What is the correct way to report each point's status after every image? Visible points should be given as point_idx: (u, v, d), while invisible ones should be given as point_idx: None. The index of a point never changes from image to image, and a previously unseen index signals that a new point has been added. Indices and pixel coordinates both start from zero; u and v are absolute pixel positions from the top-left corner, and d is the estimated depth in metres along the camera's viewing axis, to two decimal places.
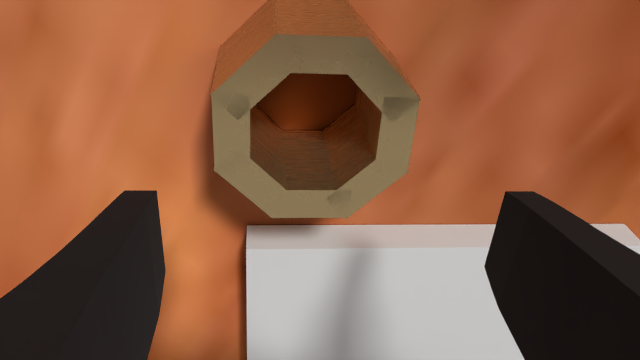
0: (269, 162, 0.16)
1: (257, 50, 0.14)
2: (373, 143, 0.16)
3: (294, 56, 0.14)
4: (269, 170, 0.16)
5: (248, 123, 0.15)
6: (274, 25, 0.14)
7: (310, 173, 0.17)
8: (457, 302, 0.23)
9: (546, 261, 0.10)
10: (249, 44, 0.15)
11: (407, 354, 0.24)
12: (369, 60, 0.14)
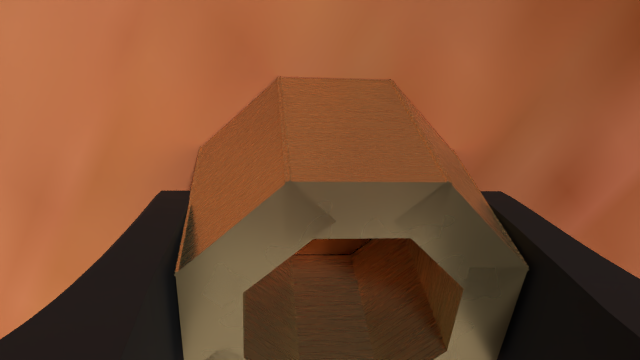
0: (274, 344, 0.10)
1: (255, 206, 0.08)
2: (441, 319, 0.10)
3: (320, 215, 0.08)
4: None
5: (240, 312, 0.09)
6: (284, 155, 0.08)
7: (337, 351, 0.11)
8: None
9: None
10: (242, 177, 0.09)
11: None
12: (450, 216, 0.08)
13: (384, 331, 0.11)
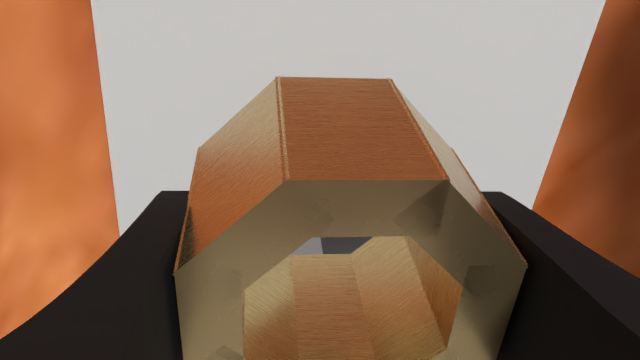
0: (274, 343, 0.10)
1: (253, 205, 0.08)
2: (440, 317, 0.10)
3: (318, 213, 0.08)
4: None
5: (239, 311, 0.09)
6: (282, 154, 0.08)
7: (337, 349, 0.11)
8: (376, 38, 0.17)
9: None
10: (240, 176, 0.09)
11: None
12: (448, 213, 0.08)
13: (384, 329, 0.11)
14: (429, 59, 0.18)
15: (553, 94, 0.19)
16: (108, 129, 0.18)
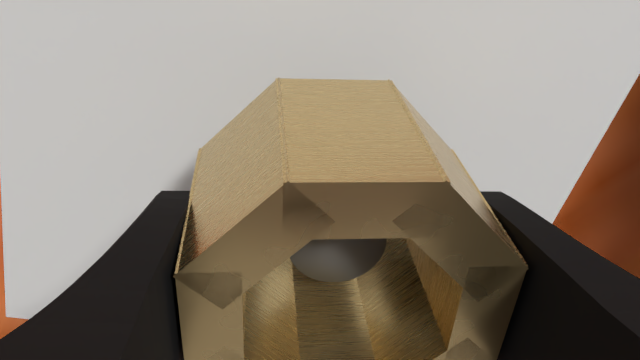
0: (275, 345, 0.10)
1: (253, 207, 0.08)
2: (441, 318, 0.10)
3: (319, 215, 0.08)
4: None
5: (240, 313, 0.09)
6: (283, 156, 0.08)
7: (338, 351, 0.11)
8: None
9: None
10: (240, 178, 0.09)
11: (301, 63, 0.13)
12: (448, 215, 0.08)
13: (384, 331, 0.11)
14: None
15: (611, 78, 0.14)
16: None
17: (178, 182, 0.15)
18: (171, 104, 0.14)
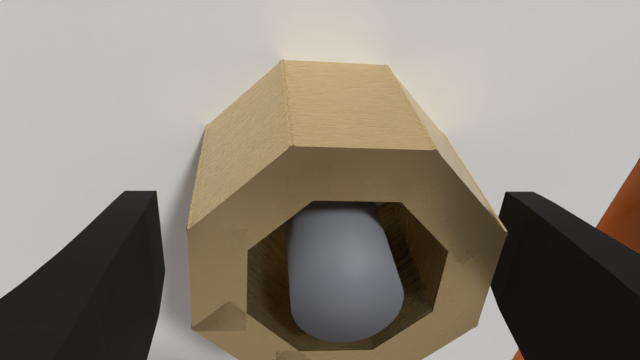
0: (274, 305, 0.11)
1: (261, 168, 0.09)
2: (428, 283, 0.11)
3: (320, 178, 0.09)
4: (274, 323, 0.11)
5: (244, 269, 0.09)
6: (288, 124, 0.09)
7: None
8: None
9: (546, 261, 0.10)
10: (248, 146, 0.10)
11: None
12: (437, 181, 0.09)
13: None
14: (490, 17, 0.12)
15: None
16: None
17: (169, 217, 0.14)
18: (160, 133, 0.12)
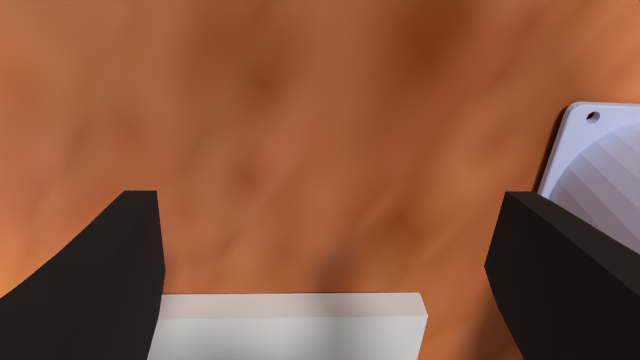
0: None
1: None
2: None
3: None
4: None
5: None
6: None
7: None
8: None
9: (546, 261, 0.10)
10: None
11: None
12: None
13: None
14: None
15: None
16: None
17: None
18: None
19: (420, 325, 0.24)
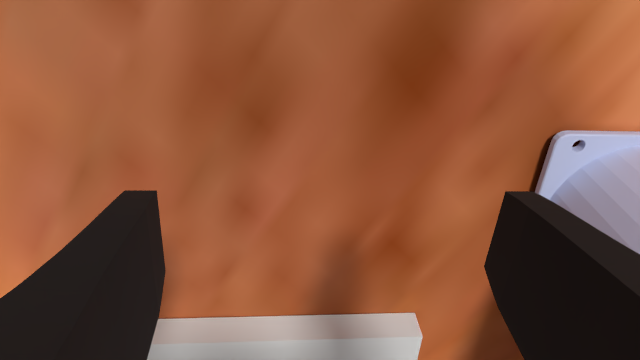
0: None
1: None
2: None
3: None
4: None
5: None
6: None
7: None
8: None
9: (546, 261, 0.10)
10: None
11: None
12: None
13: None
14: None
15: None
16: None
17: None
18: None
19: (415, 345, 0.25)
